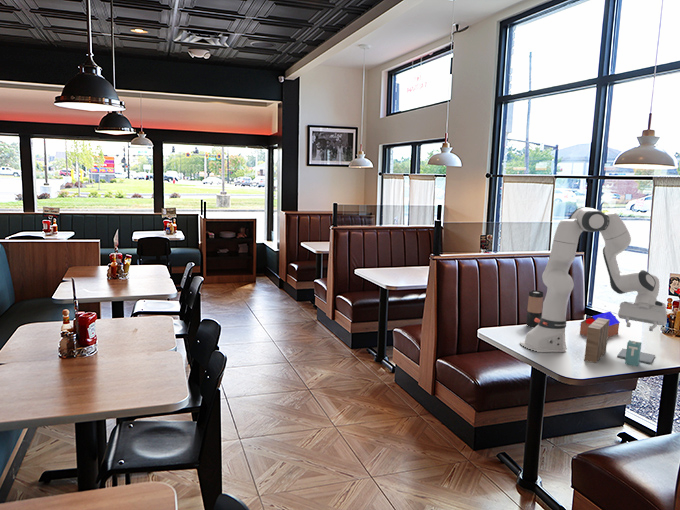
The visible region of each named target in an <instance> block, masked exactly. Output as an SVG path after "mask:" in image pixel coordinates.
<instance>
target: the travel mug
mask: <svg viewBox="0 0 680 510" xmlns="http://www.w3.org/2000/svg"><path fill="white" fill-rule="evenodd" d="M527 300H528V301H527V310H526V311H527V312H526V326H527V325H528V326H530V327H529V328H531V327H533V328H535V327H536V326H537V325H538V323H537V322H535V318H538V319H540V318H541V317H542V310H543V302H544V292H543V291H541V290H534V289H533V290H531V291H530V290H529V291H528V299H527ZM528 326H527V327H528ZM533 328H532V329H533Z"/></svg>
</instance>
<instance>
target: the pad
mask: <svg viewBox="0 0 680 510" xmlns="http://www.w3.org/2000/svg"><path fill="white" fill-rule="evenodd" d="M626 351H627V348H622V349H621V350H620V352H619V353H618V354H617V356H616V358H620V359H624V360H625V359H626ZM655 357H656V354H653V353H647V352H640V360H639V363H643V364H648V365H652V363H653V362H654V360H655Z"/></svg>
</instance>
